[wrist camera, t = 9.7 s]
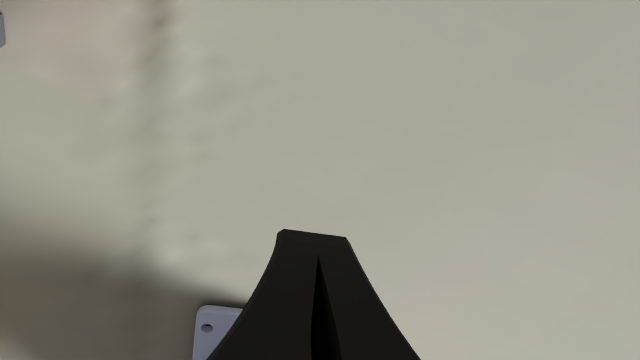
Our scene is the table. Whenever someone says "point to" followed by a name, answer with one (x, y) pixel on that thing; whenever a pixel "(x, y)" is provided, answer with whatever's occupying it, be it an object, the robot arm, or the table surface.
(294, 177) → the table surface
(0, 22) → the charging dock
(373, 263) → the table surface
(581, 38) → the table surface
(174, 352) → the table surface
